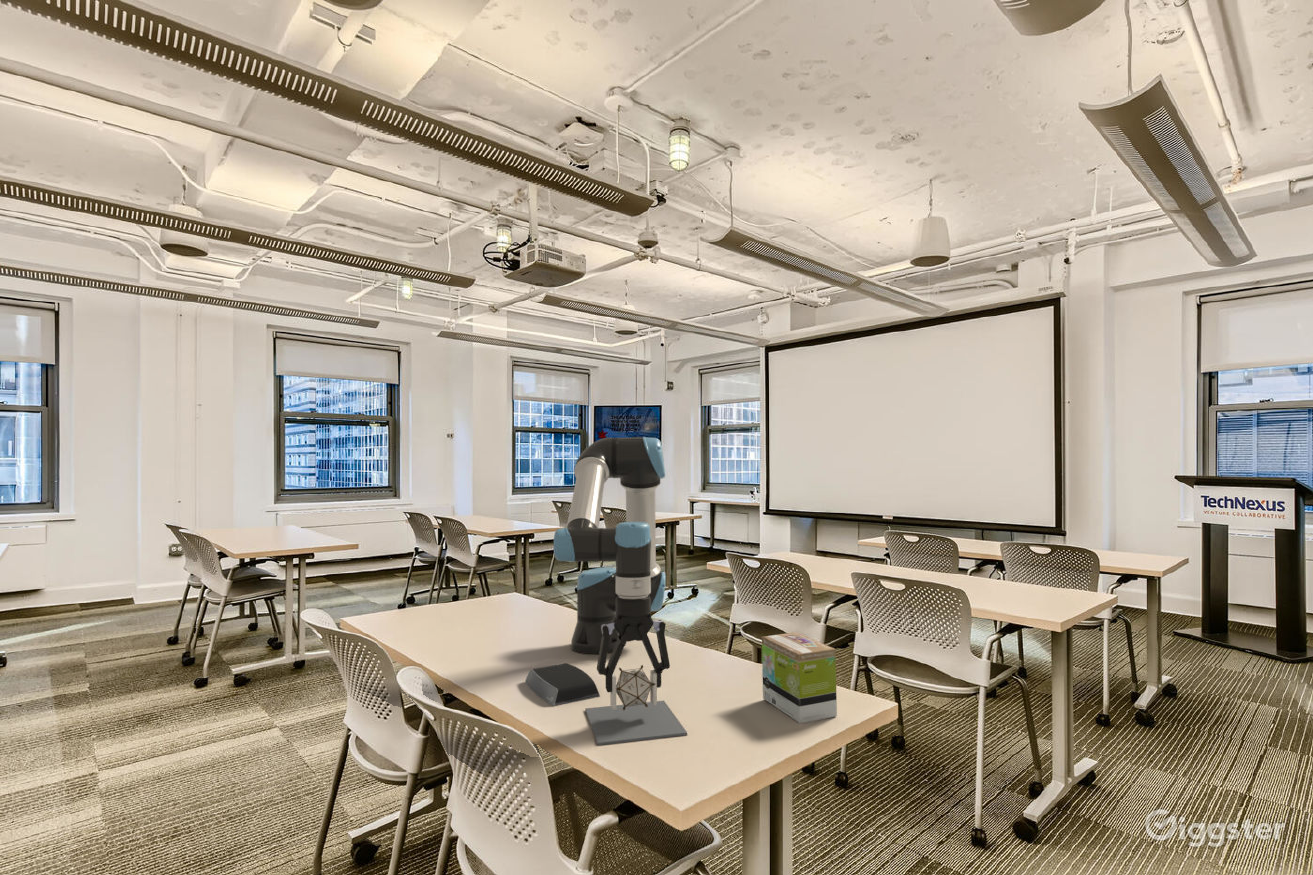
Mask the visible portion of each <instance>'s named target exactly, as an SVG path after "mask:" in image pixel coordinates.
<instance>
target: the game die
mask: <svg viewBox="0 0 1313 875" xmlns="http://www.w3.org/2000/svg"><path fill="white" fill-rule="evenodd" d="M643 669H644V664H642V665H640V668H633V669H632V668H631V669H622V668H621V667H618V671H619V672H620V673H619V677H618V679H617V681H616V696H618V698H619V700H620V702H621V703H622V705H624V707H623V711H624V710H625V708H626V707H627V706H635V705H642V704H645V707H648V706H647V704H646V702H648V701H647V700H648V699H649V698H648V697H649V695H650V689H651V686H654V685H655V683H652V684H651V682H650V680H649V679H650V678H649V677H648V676H647V674H646V673H645V672H644V670H643Z"/></svg>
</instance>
